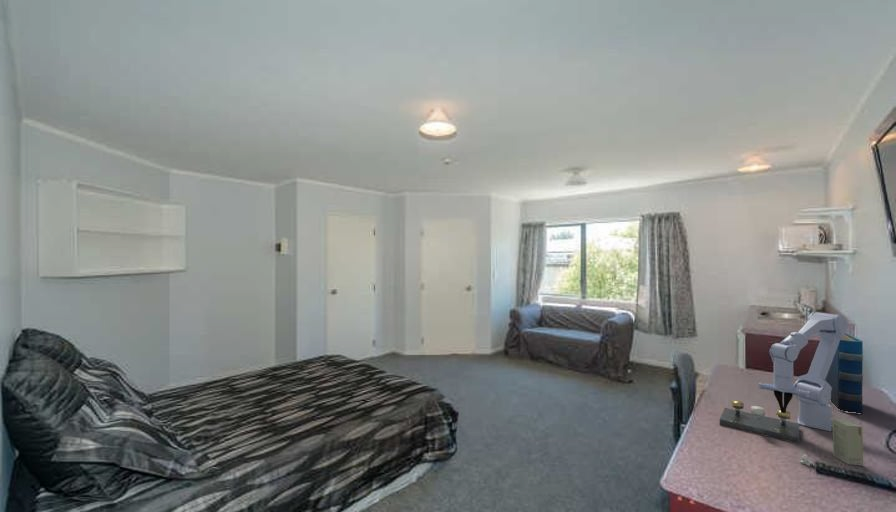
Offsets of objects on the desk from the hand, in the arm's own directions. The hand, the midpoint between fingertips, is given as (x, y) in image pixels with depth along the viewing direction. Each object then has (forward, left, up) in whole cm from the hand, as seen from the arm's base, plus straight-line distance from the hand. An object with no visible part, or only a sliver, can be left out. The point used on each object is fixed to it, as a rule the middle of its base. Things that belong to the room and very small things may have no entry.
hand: (783, 411), depth 148 cm
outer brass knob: (+14, 0, -4) cm, 15 cm away
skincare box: (-16, +16, -7) cm, 24 cm away
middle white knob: (+7, +9, -2) cm, 12 cm away
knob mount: (+7, +4, -6) cm, 10 cm away
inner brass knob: (0, 0, -4) cm, 4 cm away
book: (-19, -48, -7) cm, 52 cm away
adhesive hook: (-7, +29, -7) cm, 30 cm away
